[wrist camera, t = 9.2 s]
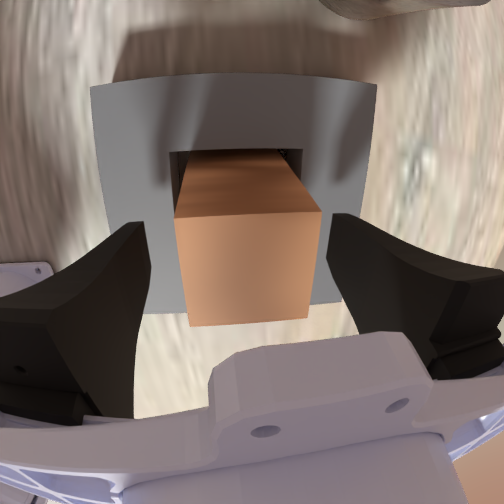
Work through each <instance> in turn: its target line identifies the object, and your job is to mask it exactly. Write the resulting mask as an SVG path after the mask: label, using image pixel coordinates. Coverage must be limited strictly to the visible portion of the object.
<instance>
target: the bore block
mask: <svg viewBox="0 0 504 504" xmlns="http://www.w3.org/2000/svg"><path fill="white" fill-rule="evenodd" d="M376 92H377V85H376V84H371V83H364V82H358V81H351V80H344V79H336V78H327V77H318V76H307V75H293V74H275V73H204V74H186V75H173V76H162V77H152V78H144V79H136V80H129V81H122V82H116V83H109V84H104V85H98V86H93V87H90V96H91V109H92V120H93V129H94V138H95V146H96V154H97V161H98V168H99V174H100V181H101V187H102V192H103V198H104V203H105V209H106V214H107V219H108V224H109V228H110V233H111V234H113V233H114V232H115V231H116V230H118V229H119V228H120V227H122V226H123V225H124V224H126V223H128V222H136V221H144V225H145V231H146V238H147V243H148V249H149V255H150V260H151V266H152V268H151V278H150V286H149V291H148V295H147V299H146V303H145V307H144V311H143V314H166V313H187V307H186V301H185V295H184V289H183V283H182V276H181V270H180V263H179V256H178V249H177V241H176V234H175V226H174V215H175V210H176V206H177V202H178V198H179V194H180V182H179V168H178V153H177V151H191V150H211V149H247V148H287V158H286V163H287V164H288V165H289V167H290V168H291V169H292V171H293V172H294V173H295V175H296V176H297V177H298V179H299V180H300V181H301V183H302V184H303V185H304V187H305V188H306V190H307V191H308V192H309V194H310V195H311V197H312V198H313V199H314V201H315V202H316V204H317V205H318V206H319V208H320V209H321V211H322V218H321V226H320V234H319V242H318V250H317V257H316V264H315V272H314V278H313V285H312V292H311V298H310V305H315V304H326V303H336V302H341V300H342V295H341V293H340V291H339V289H338V288H337V286H336V284H335V282H334V280H333V277H332V275H331V272H330V269H329V266H328V263H327V260H326V253H327V247H328V241H329V234H330V228H331V221H332V214H333V213H348V214H351V215H354V216H356V217H358V218H359V217H360V212H361V206H362V200H363V194H364V188H365V182H366V176H367V169H368V162H369V155H370V148H371V140H372V132H373V123H374V113H375V103H376Z"/></svg>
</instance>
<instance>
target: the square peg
mask: <svg viewBox="0 0 504 504" xmlns="http://www.w3.org/2000/svg"><path fill="white" fill-rule="evenodd" d="M321 218H322V211H321V209H320V208H319V206H318V205H317V204H316V202H315V201H314V199H313V198H312V197H311V195H310V194H309V192H308V191H307V190H306V188H305V187H304V185H303V184H302V183H301V181H300V180H299V179H298V177H297V176H296V175H295V173H294V172H293V171H292V169H291V168H290V167H289V165H288V164H287V163H286V161H285V160H284V159H283V157H282V156H281V155H280V153H279V152H278V151H277V149H276V148H247V149H211V150H191V151H190V155H189V158H188V162H187V166H186V170H185V174H184V178H183V182H182V186H181V190H180V194H179V198H178V202H177V206H176V210H175V215H174V226H175V234H176V241H177V249H178V256H179V263H180V270H181V276H182V283H183V289H184V295H185V301H186V307H187V313H188V319H189V324H190V327H196V326H215V325H231V324H246V323H258V322H270V321H282V320H292V319H302V318H307V317H308V311H309V305H310V298H311V292H312V285H313V278H314V272H315V264H316V257H317V250H318V242H319V234H320V226H321Z"/></svg>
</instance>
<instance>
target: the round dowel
mask: <svg viewBox="0 0 504 504" xmlns="http://www.w3.org/2000/svg"><path fill="white" fill-rule="evenodd" d="M319 1H320V2H321V3H322V4H323V5H325V6H326V7H327V8H328V9H330V10H331V11H333V12H335V13H336V14H338V15H340V16H343V17H346V18H349V19H353V20H371V19H376V18H381V17H386V16H391V15H397V14H402V13H409V12H415V11H422V10H430V9H439V8H450V7H463V6H480V5H483V4H486V3H488V2H489V1H490V0H319Z"/></svg>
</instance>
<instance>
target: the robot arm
mask: <svg viewBox="0 0 504 504" xmlns="http://www.w3.org/2000/svg"><path fill="white" fill-rule="evenodd" d="M326 260H327V263H328V266H329V269H330V272H331V275H332V277H333V280H334V282H335V284H336V286H337V288H338V289H339V291H340V293H341V295H342V297H343V299H344V301H345V303H346V305H347V307H348V309H349V311H350V313H351V315H352V317H353V319H354V321H355V324H356V326H357V329H358V332H359V335H353V336H346V337H339V338H332V339H324V340H316V341H308V342H299V343H290V344H280V345H269V346H261V347H257V348H253V349H249V350H245V351H241V352H236V353H235V354H233V355H231V356H230V357H229V358H227V359H226V360H224V361H223V362H221V363H220V364H219V365H217V366H216V367H214V368H213V370H212V373H211V376H210V379H209V382H208V398H209V406H207V407H203V408H198V409H193V410H188V411H183V412H178V413H173V414H167V415H161V416H155V417H149V418H143V419H134V369H135V355H136V344H137V338H138V332H139V328H140V324H141V320H142V316H143V311H144V307H145V303H146V299H147V295H148V291H149V286H150V278H151V268H152V266H151V260H150V255H149V249H148V243H147V238H146V231H145V225H144V221H136V222H128V223H126V224H124V225H123V226H122V227H120V228H119V229H118V230H116V231H115V232H114V233H113V234H111V235H110V236H109V237H108V238H106V239H105V240H104V241H103V242H102V243H100V244H99V245H98V246H96V247H95V248H94V249H92V250H91V251H90V252H88V253H87V254H86V255H84V256H83V257H82V258H80V259H79V260H77V261H76V262H74V263H73V264H71V265H69V266H68V267H66V268H65V269H63V270H61V271H60V272H58V273H56V274H54V273H53V270H52V268H51V266H50V265H49V264H48V263H47V262H26V263H5V264H0V504H47V502H48V499H49V500H52V501H55V502H59V503H62V504H469V503H468V500H467V498H466V495H465V493H464V490H463V488H462V485H461V483H460V480H459V478H458V475H457V473H456V470H455V468H454V466H453V463H452V462H453V461H455V460H456V459H458V458H460V457H462V456H463V455H465V454H467V453H469V452H470V451H472V450H474V449H475V448H477V447H478V446H480V445H482V444H483V443H485V442H486V441H488V440H490V439H491V438H492V437H494V436H496V435H497V434H499V433H500V432H502V431H503V430H504V344H503V345H502V344H501V342H500V341H499V340H498V338H500V336H501V332H500V330H499V329H498V328H497V326H498V324H499V322H500V321H501V319H502V317H503V315H504V272H503V271H502V270H500V269H494V268H488V267H481V266H476V265H471V264H467V263H463V262H459V261H455V260H451V259H448V258H445V257H442V256H439V255H436V254H433V253H430V252H428V251H425V250H423V249H420V248H418V247H415V246H413V245H411V244H409V243H406V242H404V241H402V240H400V239H398V238H396V237H394V236H392V235H390V234H388V233H387V232H385V231H383V230H381V229H379V228H377V227H375V226H373V225H372V224H370V223H368V222H366V221H364V220H362V219H360V218H358V217H356V216H354V215H351V214H348V213H333V214H332V221H331V228H330V234H329V241H328V247H327V253H326ZM38 268H39V269H40V270H41V271H39V270H38Z"/></svg>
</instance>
